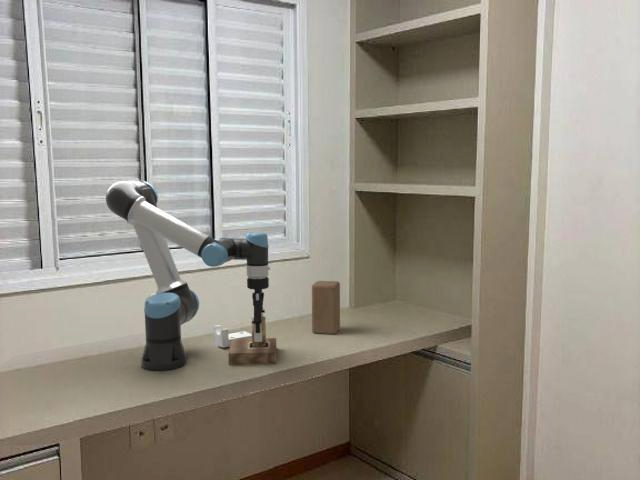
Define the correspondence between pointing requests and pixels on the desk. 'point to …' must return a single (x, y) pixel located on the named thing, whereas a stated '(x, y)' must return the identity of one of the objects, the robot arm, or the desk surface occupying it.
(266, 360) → the seat board
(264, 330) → the oak peg
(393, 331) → the desk surface
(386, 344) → the desk surface
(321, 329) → the wooden block
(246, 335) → the bracket
